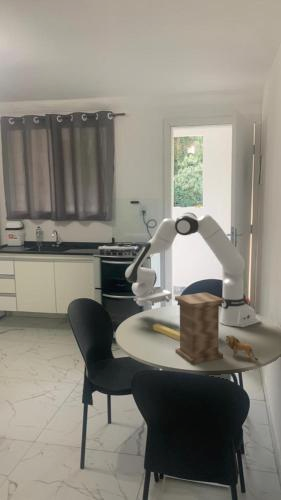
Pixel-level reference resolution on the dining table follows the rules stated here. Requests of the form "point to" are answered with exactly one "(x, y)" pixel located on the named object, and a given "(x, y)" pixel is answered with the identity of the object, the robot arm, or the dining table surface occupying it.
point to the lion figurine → (239, 347)
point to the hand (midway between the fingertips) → (160, 302)
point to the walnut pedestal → (199, 327)
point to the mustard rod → (167, 331)
